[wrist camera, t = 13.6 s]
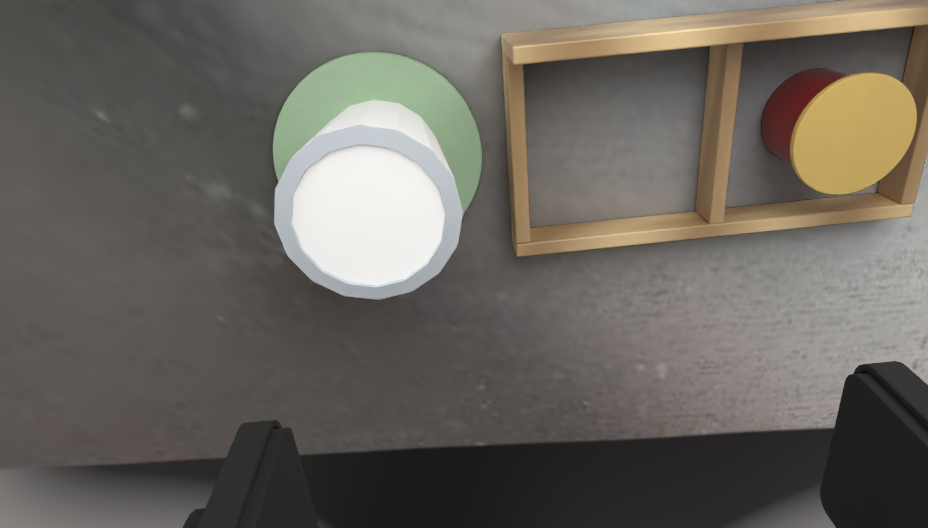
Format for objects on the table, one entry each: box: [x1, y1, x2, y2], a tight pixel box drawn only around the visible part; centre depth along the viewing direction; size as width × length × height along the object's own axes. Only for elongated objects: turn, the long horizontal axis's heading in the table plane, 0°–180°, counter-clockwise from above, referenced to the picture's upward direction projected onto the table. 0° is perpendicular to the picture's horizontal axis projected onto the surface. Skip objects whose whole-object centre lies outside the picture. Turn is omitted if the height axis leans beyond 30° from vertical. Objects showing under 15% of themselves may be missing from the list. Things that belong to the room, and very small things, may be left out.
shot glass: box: [274, 100, 463, 300], centre depth 26 cm, size 7×7×7 cm
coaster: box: [273, 52, 482, 214], centre depth 29 cm, size 10×10×1 cm
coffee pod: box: [761, 68, 917, 195], centre depth 28 cm, size 5×5×4 cm
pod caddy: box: [501, 0, 928, 257], centre depth 28 cm, size 19×10×4 cm, turn 95°
